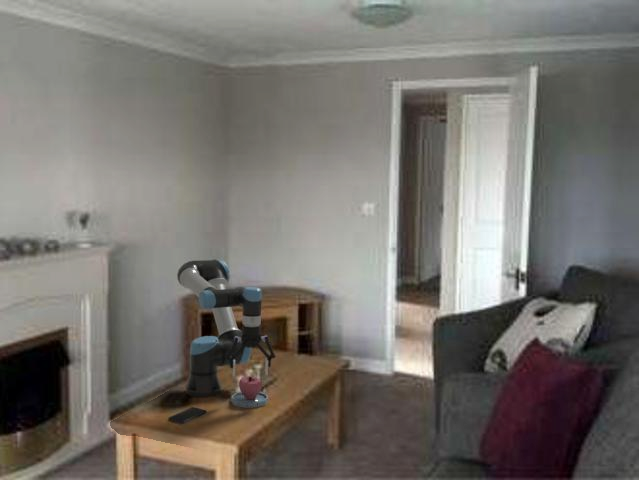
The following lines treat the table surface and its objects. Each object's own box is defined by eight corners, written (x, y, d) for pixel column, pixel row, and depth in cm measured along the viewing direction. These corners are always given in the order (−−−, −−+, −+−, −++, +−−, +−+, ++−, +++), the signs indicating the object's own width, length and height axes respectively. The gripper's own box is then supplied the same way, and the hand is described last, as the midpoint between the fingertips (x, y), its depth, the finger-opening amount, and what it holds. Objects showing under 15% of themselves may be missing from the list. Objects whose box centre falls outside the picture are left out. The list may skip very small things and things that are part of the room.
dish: (233, 408, 272) (234, 403, 271) (229, 396, 286) (229, 391, 286) (270, 406, 275) (270, 401, 275) (264, 394, 290) (265, 390, 289)
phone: (208, 410, 266) (182, 422, 253) (208, 413, 266) (182, 425, 253) (192, 406, 270) (166, 418, 257) (192, 409, 270) (166, 420, 257)
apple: (265, 399, 280) (265, 376, 279) (248, 403, 274) (248, 379, 273) (251, 393, 287) (252, 370, 286) (234, 397, 281) (235, 374, 280)
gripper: (221, 327, 271) (220, 379, 273) (283, 326, 277) (281, 376, 279) (220, 323, 278) (218, 373, 280) (279, 322, 284) (278, 371, 286)
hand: (250, 375), depth 280 cm, fingers open, 13 cm apart
